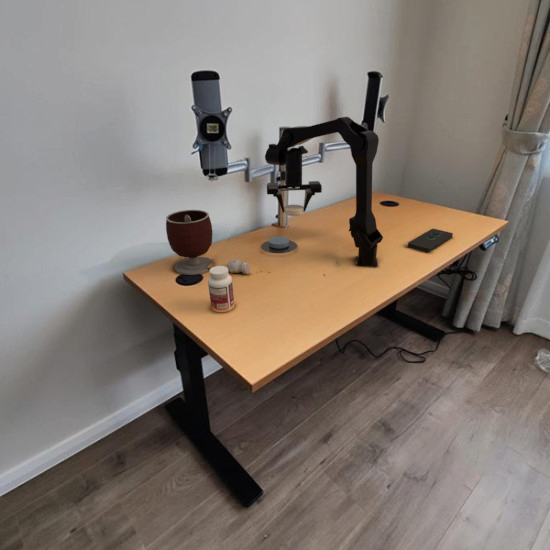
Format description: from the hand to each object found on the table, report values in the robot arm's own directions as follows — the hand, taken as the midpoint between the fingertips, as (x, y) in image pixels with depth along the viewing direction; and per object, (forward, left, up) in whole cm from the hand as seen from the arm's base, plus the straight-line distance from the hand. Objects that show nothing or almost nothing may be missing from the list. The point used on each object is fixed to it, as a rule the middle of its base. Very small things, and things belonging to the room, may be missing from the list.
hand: (293, 211), depth 131 cm
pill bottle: (-47, +14, -12) cm, 50 cm away
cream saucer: (0, 0, -1) cm, 1 cm away
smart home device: (+5, -49, -12) cm, 51 cm away
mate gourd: (-25, +30, -12) cm, 40 cm away
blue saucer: (-7, +5, -11) cm, 13 cm away
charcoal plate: (-7, +5, -12) cm, 14 cm away
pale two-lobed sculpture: (-27, +15, -12) cm, 33 cm away
